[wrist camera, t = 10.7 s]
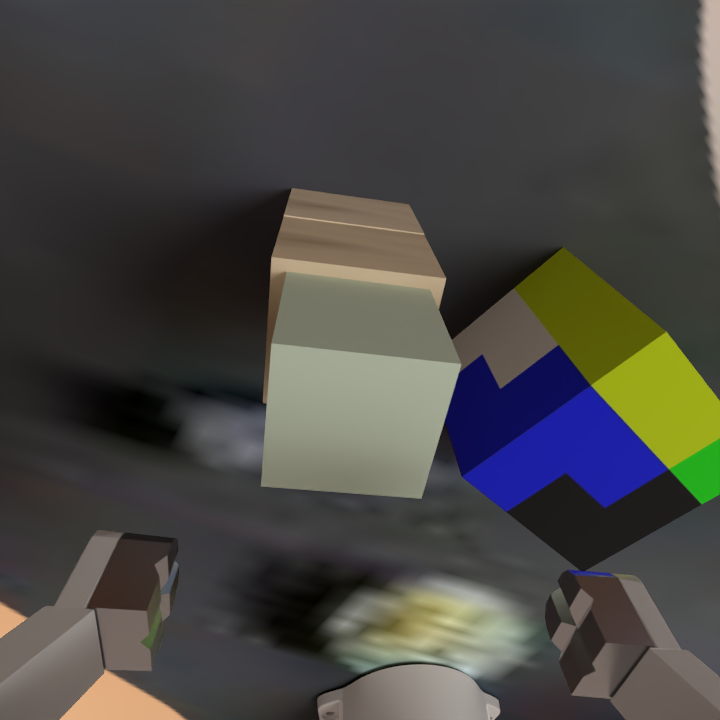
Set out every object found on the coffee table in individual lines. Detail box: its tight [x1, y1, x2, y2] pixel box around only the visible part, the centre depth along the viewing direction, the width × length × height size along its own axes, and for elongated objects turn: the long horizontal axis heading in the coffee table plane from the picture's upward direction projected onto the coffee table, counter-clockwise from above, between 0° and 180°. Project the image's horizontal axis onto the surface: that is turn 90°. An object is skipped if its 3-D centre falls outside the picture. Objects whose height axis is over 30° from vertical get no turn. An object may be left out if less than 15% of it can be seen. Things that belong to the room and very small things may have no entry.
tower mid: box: [263, 216, 446, 403], centre depth 21 cm, size 6×6×5 cm
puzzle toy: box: [445, 247, 720, 571], centre depth 27 cm, size 10×10×10 cm
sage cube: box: [261, 271, 461, 498], centre depth 17 cm, size 5×5×5 cm
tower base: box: [284, 188, 424, 235], centre depth 25 cm, size 6×6×5 cm
